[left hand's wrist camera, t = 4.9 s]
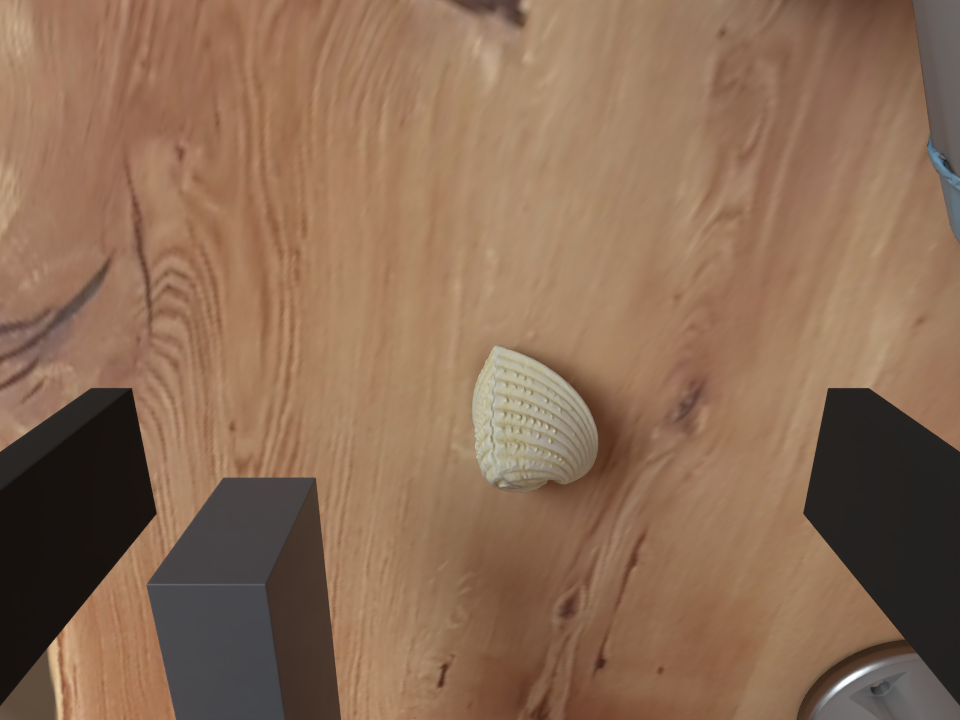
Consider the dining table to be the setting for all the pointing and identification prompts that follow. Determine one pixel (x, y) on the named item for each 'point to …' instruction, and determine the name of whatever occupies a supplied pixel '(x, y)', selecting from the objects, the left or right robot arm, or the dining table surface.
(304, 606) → the bar
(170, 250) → the dining table surface
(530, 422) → the seashell
